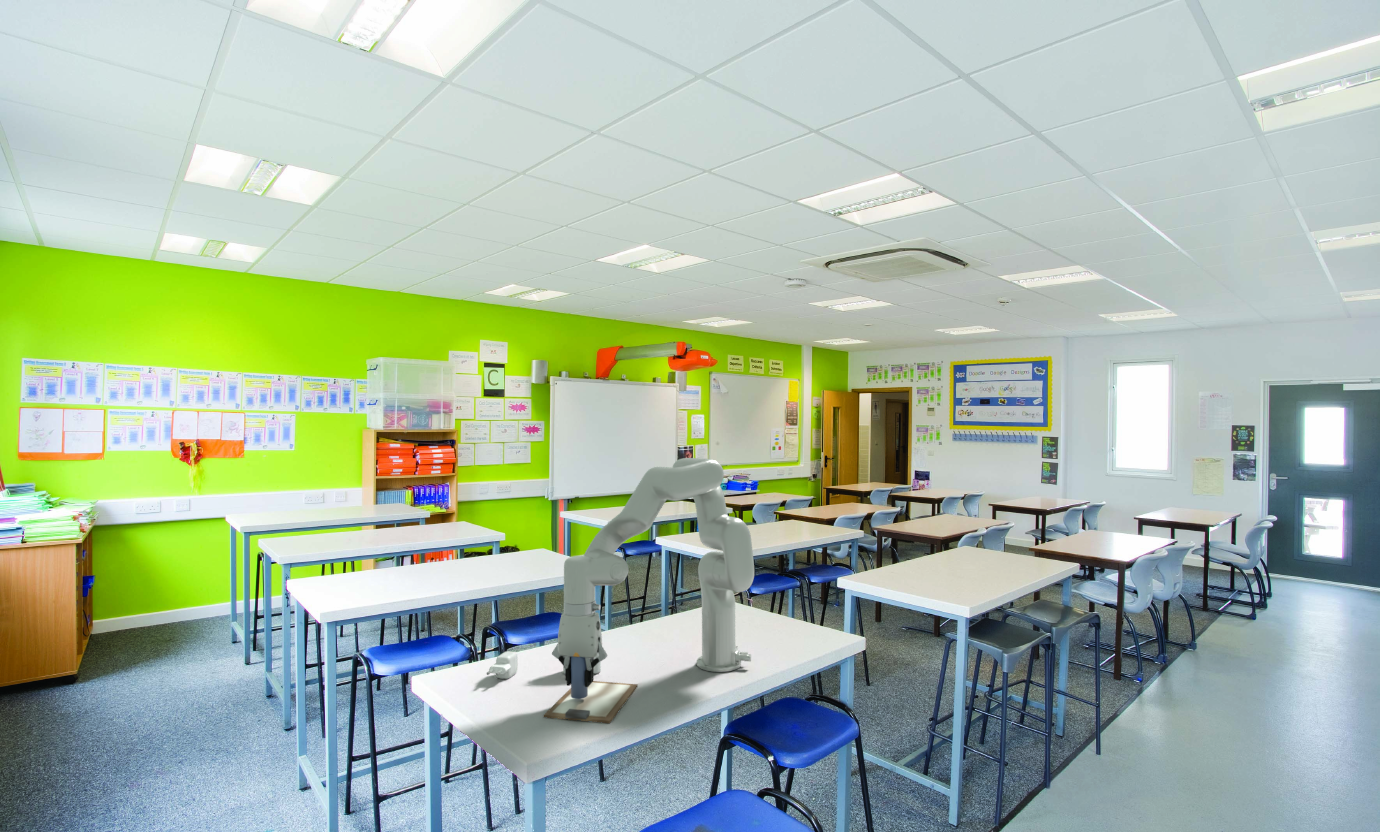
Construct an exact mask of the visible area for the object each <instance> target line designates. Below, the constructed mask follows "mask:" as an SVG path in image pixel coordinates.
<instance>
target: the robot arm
mask: <svg viewBox="0 0 1380 832" xmlns="http://www.w3.org/2000/svg"><path fill="white" fill-rule="evenodd" d="M724 477H725V472H724V468H723V467H722V464H720V463H719V462H718V461H717V460H714V459H710V458H698V457H697V458H696V457H684V458H679V459H678V460H675V462H674V463H673V464H672V466H671V467H668V466H653V467H650V468H649V469H648V470H646V472H645V473H644V474H643V476H642V478H641V479H640V481H639V482H638V484H637V486H636V488H635V489H634V491H633V492H632V494H631V496H630V497H629V499H628V500H627V502H626V504H625V505H624V507H623V509H622V510H621V511H620V513H618V514H617V515H615V516H614V517H613V518H612V519H611V520H610V521H609V522H607V523H606V524H605V525H604V526H603V527H602V528H601V529H600V530H599V531H598V533H597V534H595V536H594V538H593V539H592V541H591V542H590V544H589V546H588V547H587V548H586V551H585V553H584V554H583V555H577V556H571V557H568V558H566V559H565V560H564V563H563V612H562V613H561V615H560V616H561V617H560V620H559V625H558V626H559V627H558V632H557V644H556V645H555V647H554V649H553V650H552V651H551V655H552V656H553V657H554V658H555V659H558V661H559V662H560V664H561V665H562V667H564V668H565V674H564V676H565V678H564V679H565V681H566V686H571V657H572V656H573V655H574V653H578V654H579V656H580V657H585V660H586V666H587V670H585V687H588V686H589V685H590V684H591V683H592V682H593V681H594V675H595V673H594V666H595V665H596V664H597V663H599V662H600V661H601V662H602V661H603V660H605V659H606V658H608V654H607V652H606V650H605V649H604V647H603V637H602V626H601V625H602V624H601V620H600V615H599V614H600V613H599V612H598V611H601V607H602V606H601V604H598V603H597V600H596V586H616V585H619V584H621V583H622V582H624V581H625V580H626V578H627V576H628V574H629V566H628V562H627V561H626V560H625V559H624V558H623V557H621V556H620V555H618V554H615V553H616V552H617V550H618V548H620V547H621V546H622V545H623V544H624V543H625V542H626V541H627V540H629V539H631V538H633V537H635V536H638V535H640V534H643V533H644V532H646V531H648V530H649V529H650V528H651V527H652V525H653V523H654V521H655V520H656V518H657V517H658V515H659V513H660V511H661V510H662V508H663V507H664V505H665V503H666V501H675V502H676V501H684V500H688V499H693V500H694V505H695V509H696V518H697V519H696V520H697V526H698V527H697V529H698V535H699V541H700V542H701V544H702V545H703V546H705V547H707V548H710V549H712V550H718V551H710V552H707V553H705V554H704V555H702V557H701V558H700V560H699V563H698V567H697V568H698V570H697V573H698V574H697V575H698V579H699V585H700V591H701V655H700V656H699V657H698V658H697V659H696V665H697V667H698V668H699V669H701V670H703V671H707V672H713V673H724V672H731V671H734V670H737V669H739V668H740V667H741V666H742V662H743V661H744V662H750V663H751V661H752V654H751V653H750V654H749V652H748V651H740V650H739V647H738V646H736V598H735V593H734V592H736V593H742V592H746V591H747V590H748V589H750V587H751V586H752V584H753V582H754V578H755V565H754V564H755V562H754V552H753V551H754V550H753V544H752V543H753V542H752V536H751V531H750V528H749V527H748V525H747V524H746V522H744V520H742V519H741V518H739V517H735V516H729V514H728V510H727V505H726V499H725V495H724V492H723V489H722V487H721V485H722V483H723V480H724ZM596 611H597V612H596ZM597 653H599V656H598V657H596V658H595V659H594V657H595V656H596V654H597Z"/></svg>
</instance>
